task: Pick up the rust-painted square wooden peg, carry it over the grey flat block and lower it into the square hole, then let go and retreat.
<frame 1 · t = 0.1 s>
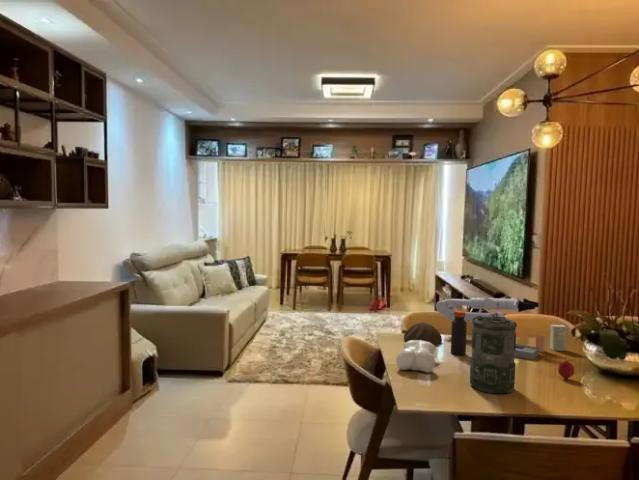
hand: (536, 305, 238), 22 cm above the table, tool horizontal, fingers open, 7 cm apart
torso sculpture: (417, 364, 209), on the table
canister: (491, 388, 181), on the table
rust peg: (540, 351, 235), on the table
grey flat block: (517, 354, 229), on the table
skincare box: (557, 350, 239), on the table
bottle: (458, 354, 227), on the table
decorative dome: (422, 342, 250), on the table
onion: (565, 379, 193), on the table
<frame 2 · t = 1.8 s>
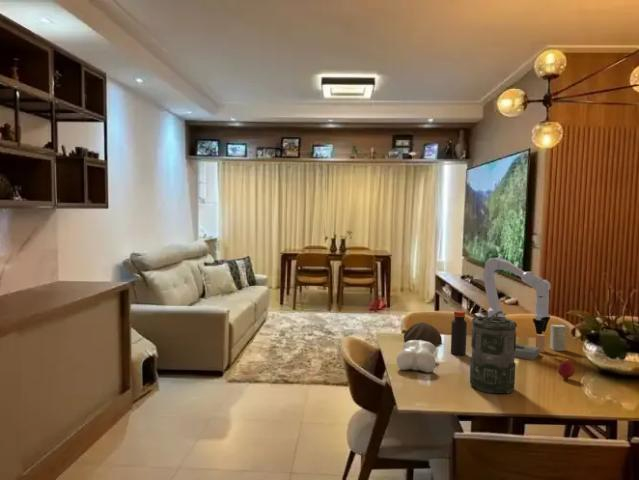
hand: (541, 332, 235), 9 cm above the table, tool pointing down, fingers open, 7 cm apart
nothing on the table moved.
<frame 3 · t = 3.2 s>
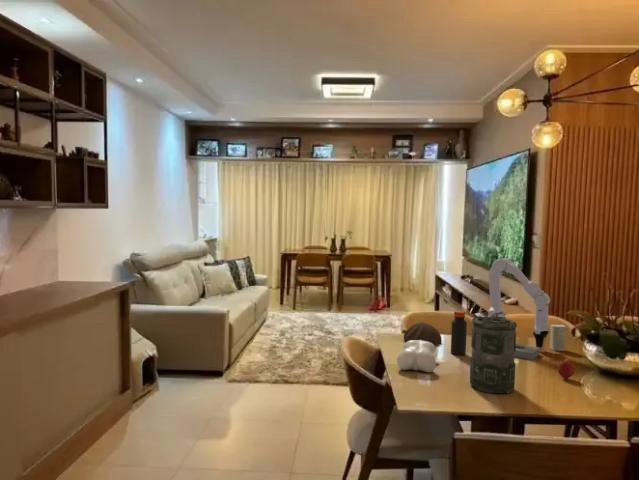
hand: (540, 346, 235), 2 cm above the table, tool pointing down, fingers closed on rust peg, 3 cm apart
rust peg: (540, 351, 235), on the table, touching gripper
everything else where it was.
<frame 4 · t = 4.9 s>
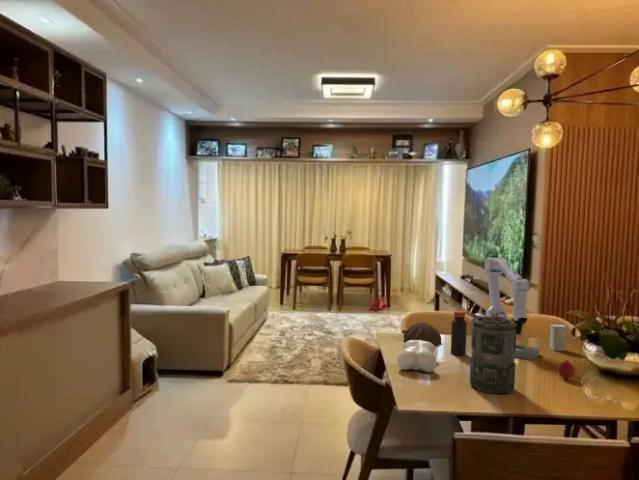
hand: (518, 333, 229), 10 cm above the table, tool pointing down, fingers closed on rust peg, 3 cm apart
rust peg: (519, 339, 229), point 7 cm above the table, touching gripper
everything else where it was.
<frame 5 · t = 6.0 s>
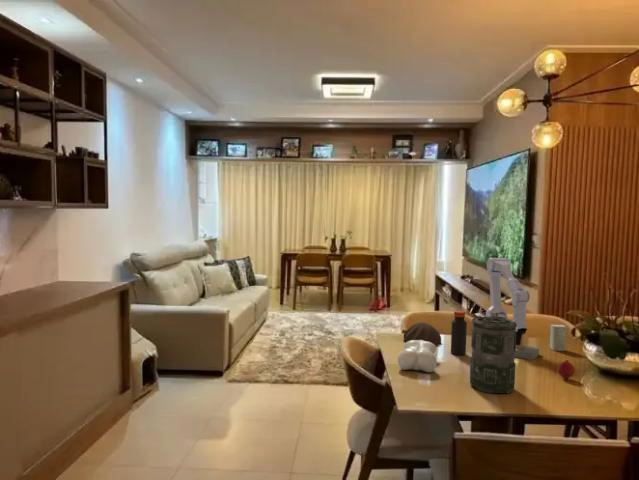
hand: (518, 343, 229), 5 cm above the table, tool pointing down, fingers closed on rust peg, 3 cm apart
rust peg: (518, 350, 229), point 2 cm above the table, touching gripper
everything else where it was.
when the fingers open (4 cm above the table, at t = 6.7 s): rust peg stays where it is, resting in grey flat block.
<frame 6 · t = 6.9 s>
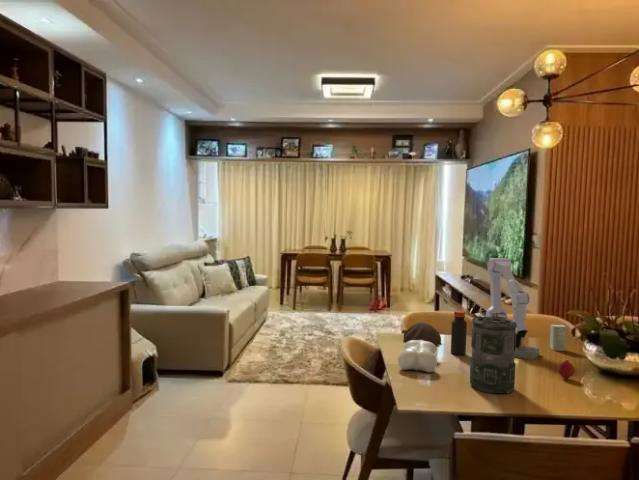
hand: (518, 346, 229), 4 cm above the table, tool pointing down, fingers open, 5 cm apart
rust peg: (518, 354, 229), resting in grey flat block
everything else where it was.
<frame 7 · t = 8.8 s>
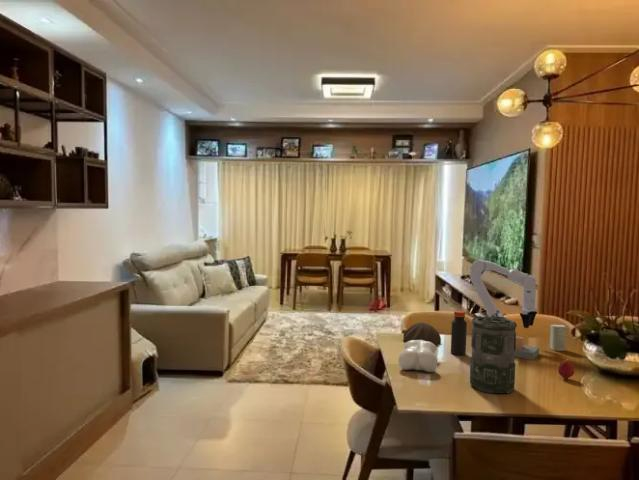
hand: (528, 326, 242), 10 cm above the table, tool pointing down, fingers open, 7 cm apart
nothing on the table moved.
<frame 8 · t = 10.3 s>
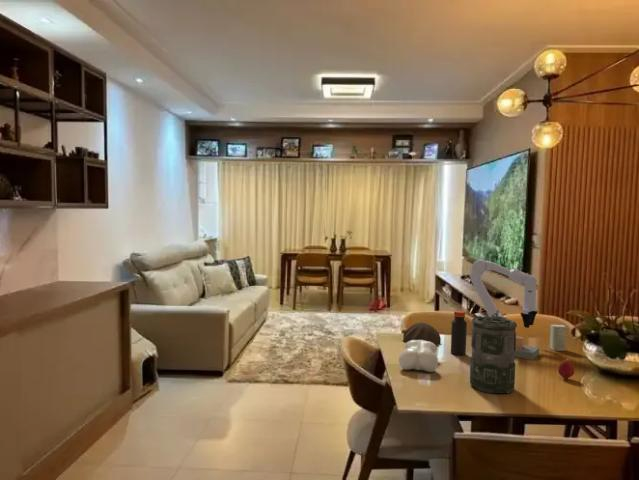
hand: (528, 326, 243), 10 cm above the table, tool pointing down, fingers open, 7 cm apart
at the end: rust peg 0.2 cm off-centre on the grey flat block, point 0.0 cm above the grey flat block's base; rust peg tilted 0°; the gripper is holding nothing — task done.
